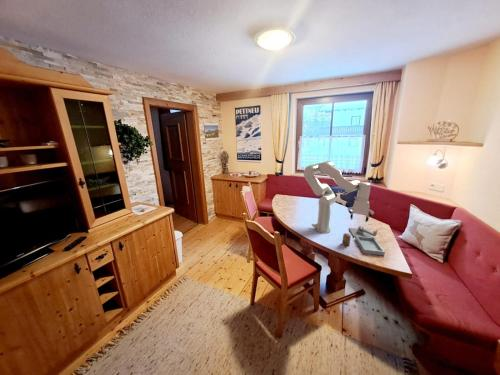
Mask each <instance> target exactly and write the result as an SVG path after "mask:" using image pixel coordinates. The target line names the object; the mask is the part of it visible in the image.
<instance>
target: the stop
mask: <svg viewBox="0 0 500 375" xmlns="http://www.w3.org/2000/svg"><path fill="white" fill-rule="evenodd" d="M351 235H352V234H351V233H350V234H349V233H343V235H342V236H343V237H342V242H341V244H342V246H344V247H349V246H350V243H351V239H352V238H351V237H352V236H351Z"/></svg>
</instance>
